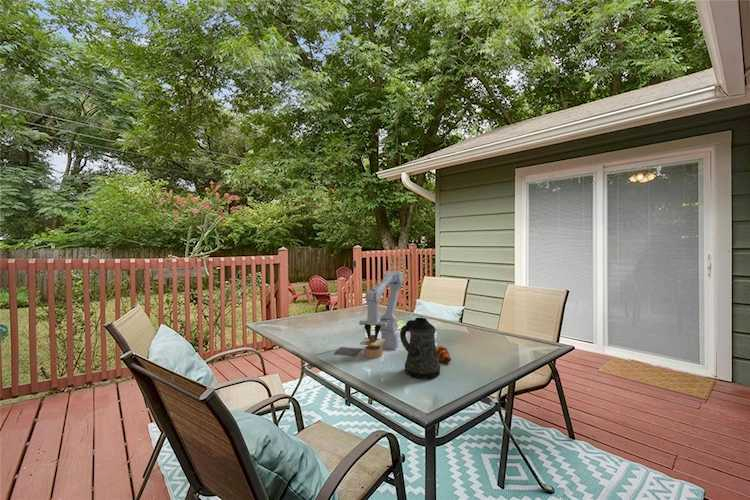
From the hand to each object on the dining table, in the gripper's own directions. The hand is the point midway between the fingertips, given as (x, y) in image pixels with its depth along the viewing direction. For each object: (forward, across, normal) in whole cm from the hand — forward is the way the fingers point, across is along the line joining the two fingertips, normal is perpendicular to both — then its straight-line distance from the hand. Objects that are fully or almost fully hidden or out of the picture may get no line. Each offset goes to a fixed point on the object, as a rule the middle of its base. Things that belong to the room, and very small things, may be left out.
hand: (372, 339), depth 181 cm
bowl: (+9, +1, 0) cm, 9 cm away
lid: (+2, 0, 0) cm, 2 cm away
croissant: (+9, +34, +7) cm, 36 cm away
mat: (+9, -14, +2) cm, 17 cm away
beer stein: (+9, +27, -16) cm, 32 cm away
